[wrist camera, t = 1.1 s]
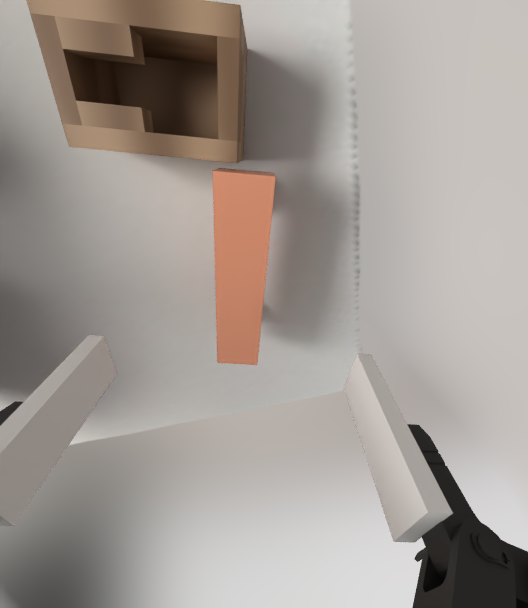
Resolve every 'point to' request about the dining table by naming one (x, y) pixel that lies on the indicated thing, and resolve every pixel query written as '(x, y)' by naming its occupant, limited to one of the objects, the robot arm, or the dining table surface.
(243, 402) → the dining table surface
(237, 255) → the salmon bridge bar
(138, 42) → the keyhole plates
